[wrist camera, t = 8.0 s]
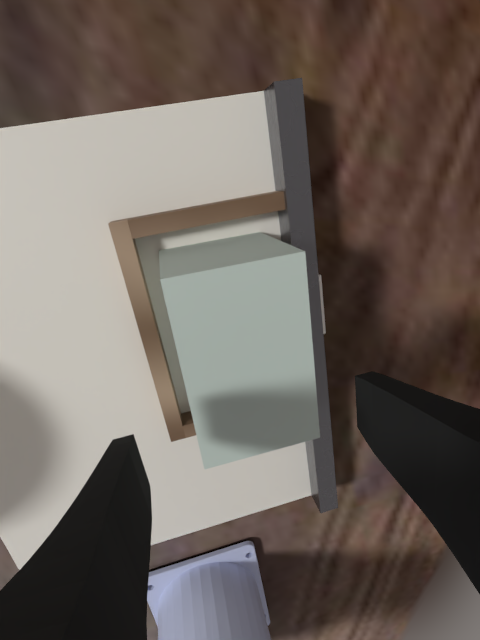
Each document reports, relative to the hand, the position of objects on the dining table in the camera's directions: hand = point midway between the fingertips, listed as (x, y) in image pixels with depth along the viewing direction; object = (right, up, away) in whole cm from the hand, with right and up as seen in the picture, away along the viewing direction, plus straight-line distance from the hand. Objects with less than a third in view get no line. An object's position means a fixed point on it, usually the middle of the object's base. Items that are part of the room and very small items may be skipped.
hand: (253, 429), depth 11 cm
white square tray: (-6, +1, +9) cm, 10 cm away
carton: (-1, +4, +8) cm, 9 cm away
